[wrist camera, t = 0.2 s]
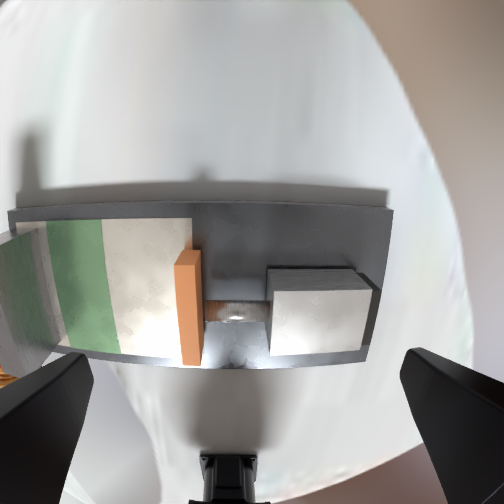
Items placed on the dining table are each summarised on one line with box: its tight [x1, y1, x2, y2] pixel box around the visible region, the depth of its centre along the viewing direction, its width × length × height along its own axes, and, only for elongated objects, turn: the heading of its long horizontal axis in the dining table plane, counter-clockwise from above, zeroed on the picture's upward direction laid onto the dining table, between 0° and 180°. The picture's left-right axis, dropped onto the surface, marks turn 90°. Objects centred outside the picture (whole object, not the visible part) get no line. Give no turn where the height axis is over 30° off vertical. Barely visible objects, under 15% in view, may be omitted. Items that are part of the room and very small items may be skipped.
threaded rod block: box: [205, 269, 382, 355], centre depth 19 cm, size 4×11×4 cm, turn 88°
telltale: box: [174, 250, 204, 366], centre depth 19 cm, size 7×1×3 cm, turn 178°
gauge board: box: [0, 200, 394, 378], centre depth 18 cm, size 13×30×7 cm, turn 88°
